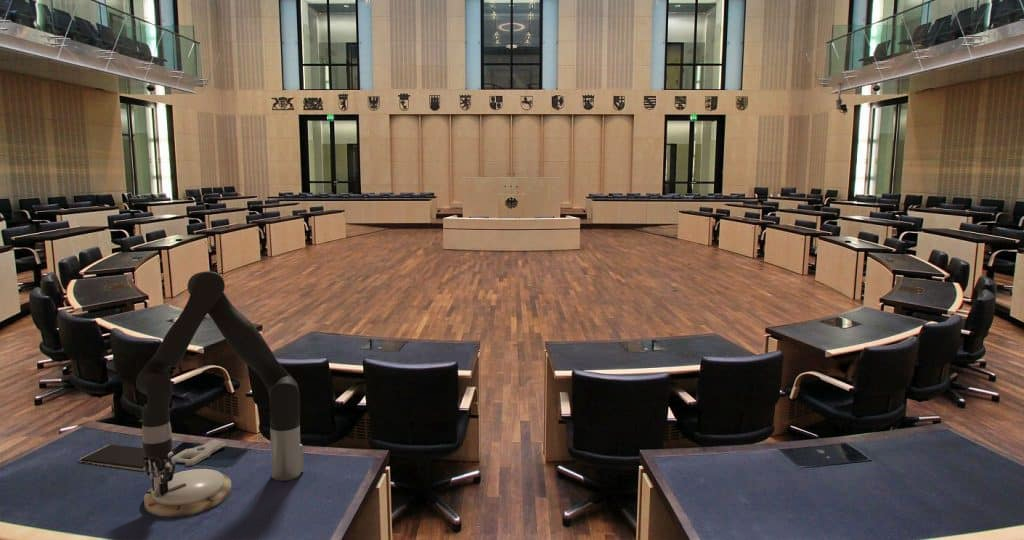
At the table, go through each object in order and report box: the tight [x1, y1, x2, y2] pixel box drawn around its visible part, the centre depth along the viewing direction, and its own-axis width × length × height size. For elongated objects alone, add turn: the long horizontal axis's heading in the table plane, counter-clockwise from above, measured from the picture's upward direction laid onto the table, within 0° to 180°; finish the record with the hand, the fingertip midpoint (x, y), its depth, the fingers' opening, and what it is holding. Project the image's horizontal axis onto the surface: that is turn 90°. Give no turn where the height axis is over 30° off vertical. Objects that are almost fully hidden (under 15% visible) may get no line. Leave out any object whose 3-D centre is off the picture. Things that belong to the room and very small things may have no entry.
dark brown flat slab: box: [78, 444, 174, 472], centre depth 218 cm, size 13×27×2 cm, turn 78°
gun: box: [170, 438, 228, 467], centre depth 221 cm, size 18×4×10 cm
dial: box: [151, 468, 224, 506], centre depth 193 cm, size 20×20×8 cm
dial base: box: [143, 473, 232, 518], centre depth 194 cm, size 24×24×2 cm
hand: (160, 491), depth 186 cm, fingers open, 3 cm apart
